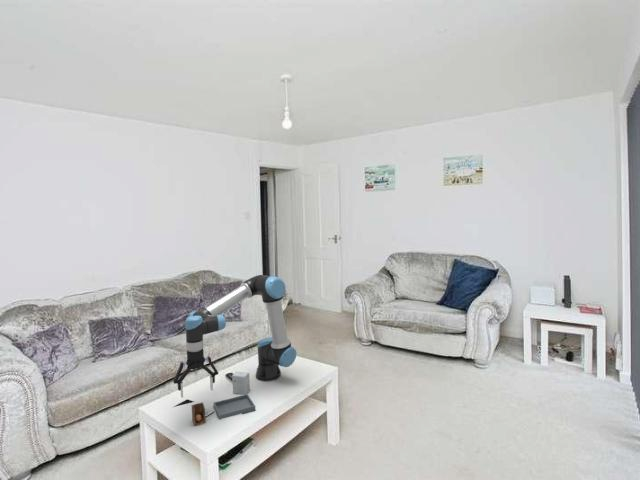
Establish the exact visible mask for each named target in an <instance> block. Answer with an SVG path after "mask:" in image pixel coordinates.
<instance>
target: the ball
mask: <svg viewBox="0 0 640 480" xmlns="http://www.w3.org/2000/svg"><path fill="white" fill-rule="evenodd" d="M195 419H196V421H201V419H202V416H201V415H197V416H196V417H195Z"/></svg>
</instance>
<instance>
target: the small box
mask: <svg viewBox="0 0 640 480" xmlns="http://www.w3.org/2000/svg"><path fill="white" fill-rule="evenodd" d="M231 379H232V380H231V381H232V394H233V395H240V396H242V395H246V394H248V393H249V392H250V391H251V382H250V372H246V371H236V372H234V373H233V374H232V375H231Z"/></svg>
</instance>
